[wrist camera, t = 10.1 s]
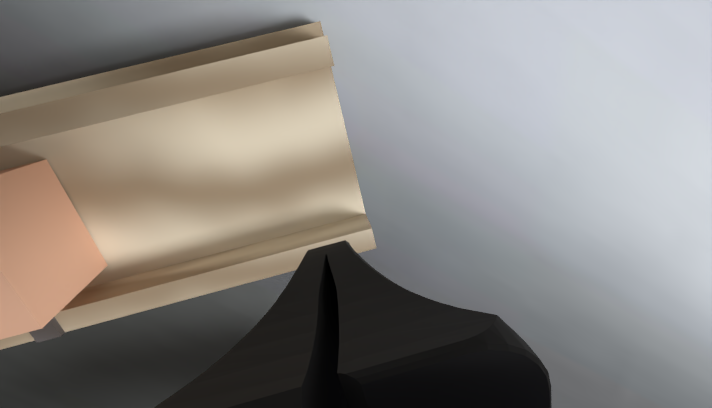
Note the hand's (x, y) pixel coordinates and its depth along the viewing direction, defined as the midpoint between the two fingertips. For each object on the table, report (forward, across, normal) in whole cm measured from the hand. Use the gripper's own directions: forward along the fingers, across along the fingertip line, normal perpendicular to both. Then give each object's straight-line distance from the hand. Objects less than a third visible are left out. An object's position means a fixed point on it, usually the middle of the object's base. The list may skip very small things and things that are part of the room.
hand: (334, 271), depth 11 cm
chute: (+9, +10, -2) cm, 14 cm away
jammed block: (+8, +15, -2) cm, 17 cm away
